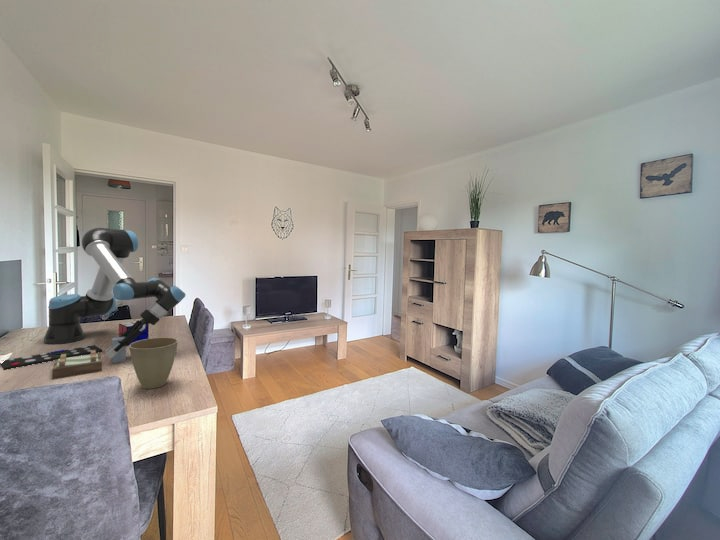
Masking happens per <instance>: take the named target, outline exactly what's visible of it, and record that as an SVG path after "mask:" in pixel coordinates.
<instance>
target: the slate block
mask: <svg viewBox="0 0 720 540" xmlns="http://www.w3.org/2000/svg"><path fill="white" fill-rule="evenodd" d="M124 338H125V337H119V336H117V337H112V338H111V345H112V348H113V347H114V346H115V345H117V344H118V342H119V341H120V342H121V341H122V340H123V339H124ZM126 348H127V346H125V347H123V348H122V349H121V350H120V351H119V352H118V353H117V354H116V355H115V356H113V357H112V358H111V362H112V364H116V363H122V362H126V359H127V358H126V357H127V355H126V354H127V353H126V351H127V350H126Z"/></svg>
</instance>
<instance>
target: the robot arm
mask: <svg viewBox="0 0 720 540" xmlns="http://www.w3.org/2000/svg"><path fill="white" fill-rule="evenodd" d="M81 246H82V249H83V250H84V252H85V254H87V255H88V256H89V257H92V258H93V260H94V261H95V262H96V264H97V265H98V267H99V268H98V270H97V274H96V276H95V278H94V283H93V285H92V287H91V289H88V290H87V291H86V294H85V295H80V294H78V293H71V294H70V293H69V294H63V295H62V294H61V295H57V296H54V297H51V298H50V299H49V300H48V301H49V302H48V328H47V330H46V333H45V335H44V336H43V343H44V344H47V343H49V344H48V345H57V344H59V343H61V344H67V343H68V344H69V343H73V342H74V343H75V342H78V341H81V340H83V339H85V332H84V330H83V327H82V326H81V319H82V318H84V319H85V318H90V317H97V316H98V317H100V316H101V317H102V316H105V315H109V314H110V313H112V312H114V309H116V308H115V307H116V302H117V301H130V300H135V299H137V300H139V299H146V298H156V299H157V300H155V301H153V302H152V304H150V305H149V306H148V307H147V309H145V310H143V312H141V313H140V317H141V319H140V320H139V319H138V320H135V321H136V322H135V323H134V324H133V325H132V326H131V327H130V328H129V329H128V330H127V331H125V332H124V333H123V334H122V335H121V336H120V337H125V338H124V339H123V340H122V341H121V342H120V341H119V342H118V344H117V345H115V346H114V347H113V348H112V344H111V345H110V346H109V347H107V349H105V351H103V352H104V353H105V354H104V355H105V357H107V358H109V359H111V360H112V357H113V356H115V355H116V354H117V353H118V352H119V351H120V350H121V349H122V348H123V347H125V346H126V347H128V346H129V344H130V343H131V342H132V341H133V340H134V339H136V338H137V337H138V336H139V335H140V334H141V333H142V332H144V331H145V330H146V328H147V325H148V324H150V325H151V326H154V325H156V324H157V323H158V322H159V321H160V320H161V319H163V317H165V316H167V315H168V313H169V312H171V310H173V308H175V307H176V306H177V305H178V304H179V303H181V302H182V301H183V300H184V299H185V297H186V293H185V292H184V291H183V290H182V289H180V287H178V286H176V285H173V286H169V285H168V284H166V283H165V282H164V281H163V280H161V279H160V278H157V277H151V278H149V279H147V280H146V281H142V282H141V281H139V282H137V281H135V279H134V278H133V277H132V275H131V274H130V273H129V272H128V270H127V269H126V268H125V267H124V265H123V262H124V261H125V259H127V258H129V256H130V254H131V253H134V252H136V251H138V248H139V239H138V236H137V235H136V233H135V232H133V231H132V230H128V229H117V228H107V227H106V228H105V227H95V228H92V229H90V230H88V231H86V232H85V233H84V234H83V236H82V239H81ZM116 300H117V301H116ZM59 345H60V344H59Z"/></svg>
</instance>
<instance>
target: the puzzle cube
mask: <svg viewBox="0 0 720 540" xmlns="http://www.w3.org/2000/svg"><path fill="white" fill-rule="evenodd" d="M136 321H137V320H135V321H129V322H120V323H118V337H120V336H121V335H122V334H123V333H124V332H125V331H127V330H128V329H129V328H130V327H131V326H132V325H133V324H134V323H135V322H136ZM149 324H150V323H149ZM149 324H148V325H147V328H146V330H145V331H144V332H142V333H141V334H140V335H139V336H138V337H137V338H136V339H134V340H133V341H132V342H131V343H133V342H136V341H140V340H144V339H149V337H150V336H149V335H150V334H149ZM131 343H130V344H131ZM130 344H129V345H130ZM129 345H128V346H129Z"/></svg>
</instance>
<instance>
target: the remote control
mask: <svg viewBox="0 0 720 540" xmlns="http://www.w3.org/2000/svg"><path fill="white" fill-rule="evenodd" d="M91 350H96V354H97V353H98V352H99V353H103V352H104V351H103V348H100V347H99V346H97V345H95V344H92V345H87V346H86V345H85V346H81V347H75V348H68V349H62V350H55V351H54V350H53V351H50V352H44V353H40V354H35V355H34V354H33V355H26V356H21V357H17V358H9V359H5V361H4V360H3V361H4V362H3V363H2V364H0V366H1V365H2V366H1V367H2V369H3V368H4V369H3V370H4V371H7V369H8V370H12V369H11V368H14V369H17V368H16V367H19V368H23V367H22V366H24V367H29V366H28V365H30V366H33V365H32V364H35V365H39V364H38V363H40V364H43V363H42V362H46V363H49V362H48V361H51V362H54V361H53V360H55V359H60V357H61V354H66V358H68V357H75V356H81V355H87V354H88V355H90V354H91ZM99 353H98V354H99Z"/></svg>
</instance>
